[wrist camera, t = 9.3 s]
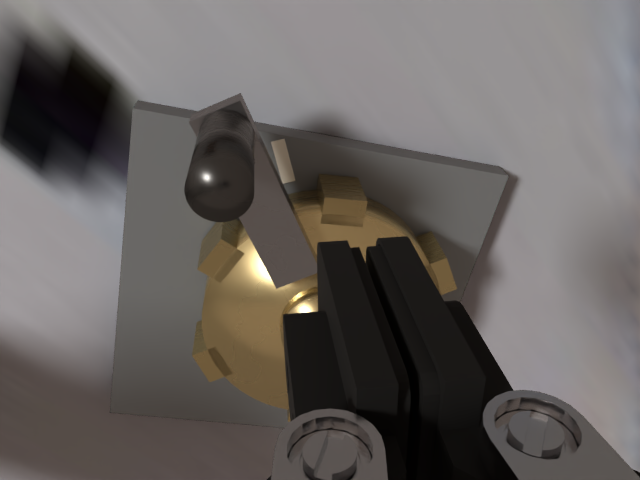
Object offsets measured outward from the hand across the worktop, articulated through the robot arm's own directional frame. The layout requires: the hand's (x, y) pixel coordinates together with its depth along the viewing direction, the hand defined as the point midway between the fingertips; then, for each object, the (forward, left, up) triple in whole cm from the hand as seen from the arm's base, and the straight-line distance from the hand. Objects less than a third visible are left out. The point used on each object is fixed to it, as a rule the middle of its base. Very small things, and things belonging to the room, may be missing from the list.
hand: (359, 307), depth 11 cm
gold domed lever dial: (+1, -7, -15) cm, 17 cm away
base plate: (+2, -10, -17) cm, 20 cm away
